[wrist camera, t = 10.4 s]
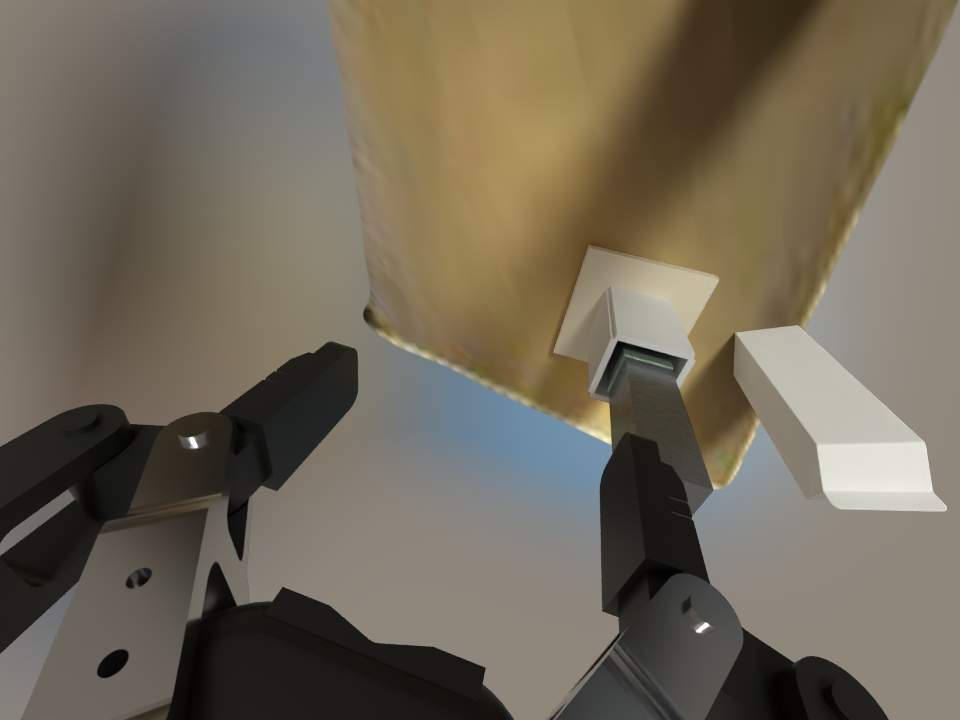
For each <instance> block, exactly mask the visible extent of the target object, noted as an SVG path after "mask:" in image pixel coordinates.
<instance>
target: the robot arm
mask: <svg viewBox="0 0 960 720" xmlns="http://www.w3.org/2000/svg"><path fill="white" fill-rule="evenodd" d="M357 356H358V355H357V351H356V349H354V348H351V347H348V346H344V345H341V344H338V343H335V342H328V343H326V344H325V345H324V346H322V347H321V348H320V349H319V350H317V351H316V352H315V353H310V352H309V353H306V354H303V355H301V356H298V357H296V358H292V359H291V360H289V361H288V362H286V363H285V364H284V365H282V366H281V367H280V368H278V369H277V371H276V372H275V371H274V372H273V373H271V374H270V375H269V376H268V377H266V379H265V380H262V381H261V382H259V383H258V384H257V385H255V386H254V387H253V388H251V389H250V390H248V391H247V392H246V393H244V394H243V395H242V396H240V397H239V398H238V399H236V400H235V401H234V402H232V403H231V404H230V405H228V406H227V407H226V408H224V409H223V410H222V411H220V412H219V413H215V412H199V413H194V414H190V415H186V416H183V417H181V418H179V419H176V420H175V421H173V422H171V423H170V424H168V425H167V426H155V425H137V424H130V423H129V421H128V419H127V417H126V415H125V413H124V412H123V410H122V409H120V408H119V407H116V406H113V405H106V404H98V405H88V406H83V407H79V408H75V409H72V410H69V411H66V412H63V413H61V414H59V415H57V416H55V417H53V418H51V419H49V420H47V421H46V422H44V423H42V424H40V425H39V426H37V427H35V428H33V429H31V430H29V431H28V432H26V433H24V434H22V435H21V436H19V437H17V438H15V439H13V440H12V441H10V442H8V443H6V444H4V445H3V446H1V447H0V542H1V541H2V539H3V538H4V537H5V536H6V534H8V533H9V532H10V531H11V530H12V529H13V528H14V527H16V526H17V525H19V524H20V523H21V522H23V521H24V520H26V519H27V518H28V517H30V516H31V515H32V514H34V513H35V512H37V511H38V510H39V509H40V508H42V507H44V506H45V505H46V504H48V503H49V502H51V501H52V500H53V499H55V498H56V497H57V496H59V495H60V494H62V493H63V492H64V491H66V490H67V489H68V490H69V492H70V493H71V494H72V496H73V497H74V499H75V500H74V501H73V502H71V503H70V504H69V505H67V506H66V507H65V508H63V509H62V510H61V511H59V512H58V513H57V514H56V515H54V516H53V517H51V518H50V519H49V520H47V521H46V522H45V523H43V524H42V525H41V526H39V527H38V528H37V529H36V530H34V531H33V532H31V533H30V534H29V535H28V536H26V537H25V538H24V539H22V540H21V541H20V542H18V543H17V544H16V545H14V546H13V547H12V548H10V549H9V550H8V551H6V552H5V553H4V554H2V555H1V556H0V653H1V652H2V651H4V650H5V649H6V648H7V647H8V646H9V645H10V644H11V643H12V642H13V641H14V640H15V639H16V638H18V637H19V636H20V635H21V634H22V633H23V632H24V631H25V630H26V629H27V628H28V627H29V626H31V625H32V624H33V623H34V622H35V621H36V620H37V619H38V618H39V617H40V616H41V615H42V614H44V613H45V612H46V611H47V610H48V609H49V608H50V607H51V606H52V605H53V604H54V603H55V602H57V601H58V600H59V599H60V598H61V597H62V596H63V595H64V594H65V593H66V592H67V591H68V590H70V589H71V588H72V587H73V586H74V585H75V584H76V583H77V582H78V581H79V582H78V584H77V587H76V589H75V592H74V594H73V596H72V599H71V601H70V604H69V606H68V608H67V611H66V613H65V615H64V618H63V620H62V623H61V625H60V627H59V630H58V632H57V635H56V637H55V639H54V642H53V644H52V647H51V649H50V651H49V654H48V656H47V659H46V661H45V663H44V666H43V668H42V670H41V673H40V675H39V678H38V680H37V682H36V685H35V687H34V690H33V692H32V694H31V697H30V699H29V702H28V704H27V706H26V709H25V711H24V714H23V717H22V718H21V720H514V719H513V717H512V716H511V714H510V713H509V712H508V711H507V709H506V708H505V706H504V705H503V703H502V702H501V701H500V700H499V699H498V698H497V697H496V696H495V695H494V694H493V693H492V692H491V691H490V690H489V689H488V688H486V687H485V686H484V685H483V679H484V673H485V667H482V666H480V665H477V664H475V663H472V662H470V661H467V660H465V659H462V658H460V657H457V656H455V655H452V654H450V653H447V652H445V651H442V650H440V649H437V648H435V647H426V646H412V645H395V644H380V643H375V642H372V641H371V640H369V639H368V638H367V637H366V636H364V635H363V634H362V633H361V632H360V631H359V630H357V629H356V628H355V627H354V626H353V625H352V624H350V623H349V622H348V621H347V620H346V619H345V618H343V617H342V616H341V615H340V614H339V613H338V612H337V611H335V610H334V609H333V608H332V607H331V606H329V605H327V604H324V603H322V602H319V601H317V600H314V599H312V598H309V597H307V596H304V595H302V594H299V593H297V592H294V591H292V590H289V589H286V588H284V587H282V589H281V590H280V592H279V593H278V594H277V596H276V597H275V599H274V600H273V602H269V601H267V602H254V603H249V586H248V577H247V564H248V554H249V542H250V531H251V519H252V507H253V496H252V494H253V493H254V492H255V491H256V490H257V489H258V488H259V487H260V486H264V487H267V488H270V489H273V490H275V491H277V490H279V488H280V487H281V486H282V485H283V484H284V483H285V482H286V480H287V479H288V478H289V477H290V476H291V475H292V474H293V473H294V472H295V470H296V469H297V468H298V467H299V466H300V465H301V464H302V462H303V461H304V460H305V459H306V458H307V457H308V456H309V455H310V453H311V452H312V451H313V450H314V449H315V448H316V447H317V446H318V444H319V443H320V442H321V441H322V440H323V439H324V438H325V437H326V435H327V434H328V433H329V432H330V431H331V430H332V429H333V428H334V426H335V425H336V424H337V423H338V422H339V421H340V419H342V417H343V416H344V415H345V414H346V413H347V412H348V411H349V410H350V408H351V407H352V406H353V404H354V402H355V399H356V397H357V393H358V357H357ZM600 523H601V568H602V611H603V612H606V613H608V614H611V615H614V616H617V617H619V633H618V634H617V635H616V636H615V638H614V639H613V640H612V641H611V643H610V644H609V645H608V646H607V647H606V648H605V650H604V651H603V652H602V653H601V654H600V656H599V657H598V658H597V659H596V660H595V662H594V663H593V664H592V665H591V666H590V668H589V669H588V670H587V671H586V672H585V674H584V675H583V676H582V677H581V679H580V680H579V681H578V682H577V683H576V684H575V686H574V687H573V688H572V689H571V691H570V692H569V693H568V694H567V695H566V696H565V697H564V699H563V700H562V701H561V702H560V703H559V704H558V706H557V707H556V708H555V709H554V710H553V711H552V712H551V713H550V715H549V716H548V717H547V718H546V719H545V720H889V719H888V718H887V716H886V715H885V713H884V712H883V710H882V708H881V707H880V706H879V705H878V703H877V702H876V700H875V699H874V698H873V697H872V696H871V695H870V694H869V692H868V691H867V690H866V689H865V688H864V687H863V686H862V685H861V684H860V683H859V682H858V681H857V680H856V679H855V678H854V677H852V676H851V675H850V674H849V673H847V672H846V671H845V670H843V669H842V668H841V667H839V666H837V665H836V664H834V663H832V662H830V661H828V660H826V659H823V658H820V657H815V656H808V657H805V658H802V659H801V660H799V661H797V662H795V663H794V662H792V661H791V660H789V659H788V658H786V657H785V656H783V655H782V654H780V653H779V652H777V651H776V650H774V649H773V648H771V647H770V646H768V645H767V644H765V643H764V642H762V641H761V640H759V639H758V638H756V637H755V636H753V635H752V634H750V633H749V632H748V631H746V630H745V629H744V628H743V627H741V624H740V622H739V619H738V617H737V615H736V613H735V611H734V609H733V608H732V606H731V605H730V603H729V602H728V601H727V600H726V599H725V597H724V596H723V595H722V594H721V593H720V592H719V591H718V590H717V589H716V588H714V587H713V586H712V585H711V584H710V582H709V578H708V574H707V571H706V567H705V563H704V559H703V556H702V552H701V548H700V544H699V540H698V537H697V533H696V529H695V525H694V521H693V520H692V514H691V510H690V506H689V505H688V498H687V495H686V491H685V487H684V483H683V482H682V480H681V479H680V477H679V476H678V474H677V473H676V471H675V470H674V468H673V467H672V465H669V464H666V463H663V462H661V459H660V454H659V450H658V445H657V442H656V441H655V440H653V439H649V438H646V437H643V436H639V435H636V434H633V433H629V432H626V433H624V434H623V436H622V437H621V439H620V441H619V443H618V445H617V447H616V448H615V450H614V452H613V454H612V456H611V458H610V459H609V461H608V463H607V465H606V467H605V469H604V471H603V474H602V478H601V483H600Z"/></svg>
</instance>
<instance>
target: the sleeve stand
mask: <svg viewBox="0 0 960 720" xmlns="http://www.w3.org/2000/svg"><path fill="white" fill-rule="evenodd" d="M718 282H719V279H718V277H717V276H716V275H712V274H708V273H704V272H700V271H696V270H692V269H688V268H684V267H680V266H676V265H671V264H667V263H663V262H659V261H655V260H651V259H647V258H643V257H639V256H635V255H630V254H626V253H622V252H618V251H614V250H610V249H606V248H602V247H598V246H594V245H590V244H589V245H588V248H587V251H586V254H585V257H584V260H583V263H582V266H581V269H580V272H579V275H578V278H577V281H576V284H575V287H574V290H573V293H572V296H571V299H570V302H569V305H568V308H567V311H566V314H565V317H564V320H563V323H562V326H561V329H560V332H559V334H558V337H557V340H556V343H555V346H554V351H553V353H556V354H559V355H563V356H567V357H570V358H574V359H577V360H581V361H584V362H588V392H589V397H590V398H594V399H597V400H600V401H604V402H607V403H609V392H607V384H608V375H607V363H608V361H609V359H610V357H611V355H612V352H613V350H614V348H615V346H616V343H617V341H622V342H626V343H629V344H633V345H637V346H640V347H644V348H648V349H651V350H655V351H659V352H662V353H666V354H667V356H668V359H669V361H670V362H672V365H673V373H674V376H675V379H676V382H677V385H678V388H680V386H681V385H682V383H683V381H684V380H685V378H686V377H687V375H688V373H689V372H690V370H691V368H692V367H693V365H694V363H695V359H694V356H695V353H694V351H693V349H692V347H691V344H690V342H689V340H688V338H687V337H688V335H689V333H690V331H691V330H692V328H693V326H694V324H695V322H696V321H697V319H698V317H699V315H700V314H701V312H702V310H703V308H704V306H705V305H706V303H707V301H708V299H709V298H710V296H711V294H712V292H713V291H714V289H715V287H716V285H717V283H718Z"/></svg>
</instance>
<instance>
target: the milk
mask: <svg viewBox="0 0 960 720" xmlns="http://www.w3.org/2000/svg"><path fill="white" fill-rule="evenodd" d="M733 375H734V377H735V379H736V380H737V382H738V384H739V385H740V387H741V389H742V391H743V392H744V394H745V396H746V397H747V399H748V401H749V402H750V404H751V406H752V407H753V409H754V411H755V413H756V414H757V416H758V418H759V419H760V421H761V423H762V424H763V426H764V427H765V429H766V431H767V433H768V435H769V436H770V438H771V440H772V441H773V443H774V445H775V446H776V448H777V450H778V451H779V453H780V455H781V457H782V458H783V460H784V462H785V463H786V465H787V467H788V468H789V470H790V472H791V473H792V475H793V477H794V479H795V480H796V482H797V483H798V485H799V487H800V489H801V490H802V492H803V494H804V495H805V497H806V499H807V500H828V501H829V502H830V504H831V505H832V506H833V507H835V508H837V509H852V510H894V511H937V512H942V511H943V512H944V511H946V510H947V507H946V505H945V504H944V503H943V502H942V501H941V500H940V499H939V498H938V497H937V496H936V495H935V494H934V493H933V489H932V483H931V476H930V470H929V463H928V457H927V450H926V445H925V442H924V441H923V440H922V439H920V438H919V437H918V436H917V435H916V434H915V433H914V432H913V431H912V430H911V429H910V428H909V427H908V426H906V425H905V424H904V423H903V422H902V421H901V420H900V419H899V418H898V417H897V416H896V415H894V414H893V413H892V412H891V411H890V410H889V409H888V408H887V407H886V406H885V405H884V404H883V403H881V402H880V401H879V400H878V399H877V398H876V397H875V396H874V395H873V394H872V393H871V392H870V391H868V390H867V389H866V388H865V387H864V386H863V385H862V384H861V383H860V382H859V381H858V380H856V379H855V378H854V377H853V376H852V375H851V374H850V373H849V372H848V371H847V370H846V369H844V367H842V366H841V365H840V364H839V363H838V362H837V361H836V360H835V359H834V358H833V357H832V356H830V355H829V354H828V353H827V352H826V351H825V350H824V349H823V348H822V347H821V346H820V345H818V344H817V343H816V342H815V341H814V340H813V339H812V338H811V337H810V336H809V335H807V333H806V332H804V331H803V330H802V329H801V328H800V327H799V326H798V325H796V326H787V327H779V328H770V329H762V330H753V331H745V332H737V333H735V347H734V373H733Z"/></svg>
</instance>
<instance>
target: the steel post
mask: <svg viewBox="0 0 960 720" xmlns="http://www.w3.org/2000/svg"><path fill="white" fill-rule="evenodd" d="M607 375H608V384H607V392H609V406H610V421H611V437H612V452H614V450H615V448H616V447H617V445H618V443H619V441H620V439H621V437H622V436H623V434H624V433H626V432H629V433H633V434H636V435H639V436H643V437H646V438H649V439H653V440H655V441H656V442H657V445H658V450H659V454H660V459H661V462H663V463H666V464H669V465H672V467H673V468H674V470H675V471H676V473H677V474H678V476H679V477H680V479H681V480H682V482H683V483H684V487H685V491H686V495H687V498H688V505H689V506H690V510H691V514H692V515H693V514H694V513H695V512H696V511H697V509H698V508H699V507H700V506H701V505H702V503H703V502H704V501H705V500H706V499H707V497H708V496H709V495H710V494H711V493H712V491H713V487H712V484H711V481H710V478H709V475H708V472H707V469H706V467H705V464H704V461H703V458H702V455H701V452H700V449H699V446H698V443H697V440H696V437H695V434H694V432H693V429H692V426H691V423H690V420H689V417H688V414H687V411H686V408H685V405H684V402H683V399H682V397H681V394H680V391H679V388H678V385H677V382H676V379H675V376H674V373H673V365H672V362H670V361H669V359H668V356H667V354H666V353H662V352H659V351H655V350H651V349H648V348H644V347H640V346H637V345H633V344H629V343H626V342H622V341H617V343H616V346H615V348H614V350H613V352H612V355H611V357H610V359H609V361H608V363H607Z"/></svg>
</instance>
